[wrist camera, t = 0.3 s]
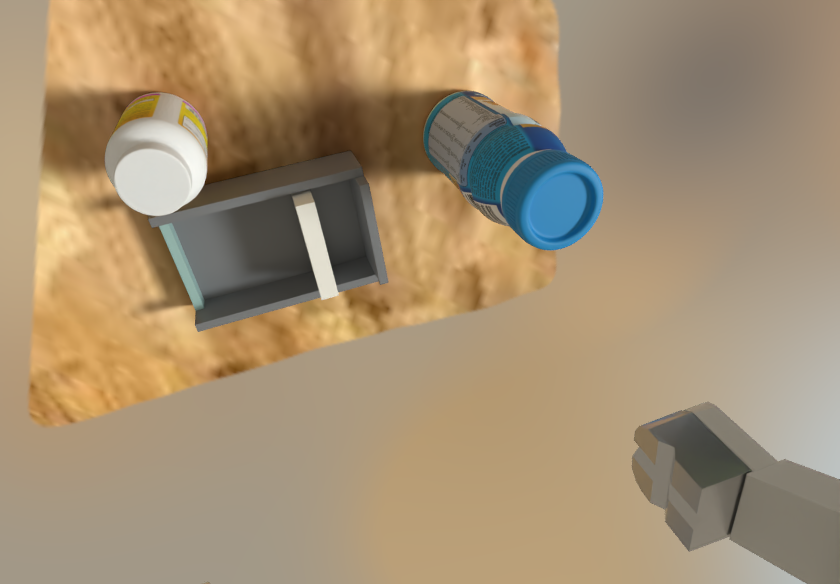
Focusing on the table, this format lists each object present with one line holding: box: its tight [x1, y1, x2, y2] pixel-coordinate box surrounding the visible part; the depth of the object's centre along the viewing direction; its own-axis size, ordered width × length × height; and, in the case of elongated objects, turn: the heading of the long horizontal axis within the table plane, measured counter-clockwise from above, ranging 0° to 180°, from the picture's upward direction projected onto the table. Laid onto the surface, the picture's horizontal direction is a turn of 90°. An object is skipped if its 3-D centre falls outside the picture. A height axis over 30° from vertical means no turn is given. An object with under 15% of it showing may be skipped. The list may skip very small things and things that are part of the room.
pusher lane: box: [148, 151, 388, 332], centre depth 52 cm, size 12×18×7 cm, turn 98°
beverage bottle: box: [423, 91, 603, 250], centre depth 48 cm, size 8×8×20 cm
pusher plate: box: [291, 189, 339, 300], centre depth 52 cm, size 9×2×6 cm, turn 8°
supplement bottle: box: [105, 92, 208, 216], centre depth 43 cm, size 7×7×13 cm
